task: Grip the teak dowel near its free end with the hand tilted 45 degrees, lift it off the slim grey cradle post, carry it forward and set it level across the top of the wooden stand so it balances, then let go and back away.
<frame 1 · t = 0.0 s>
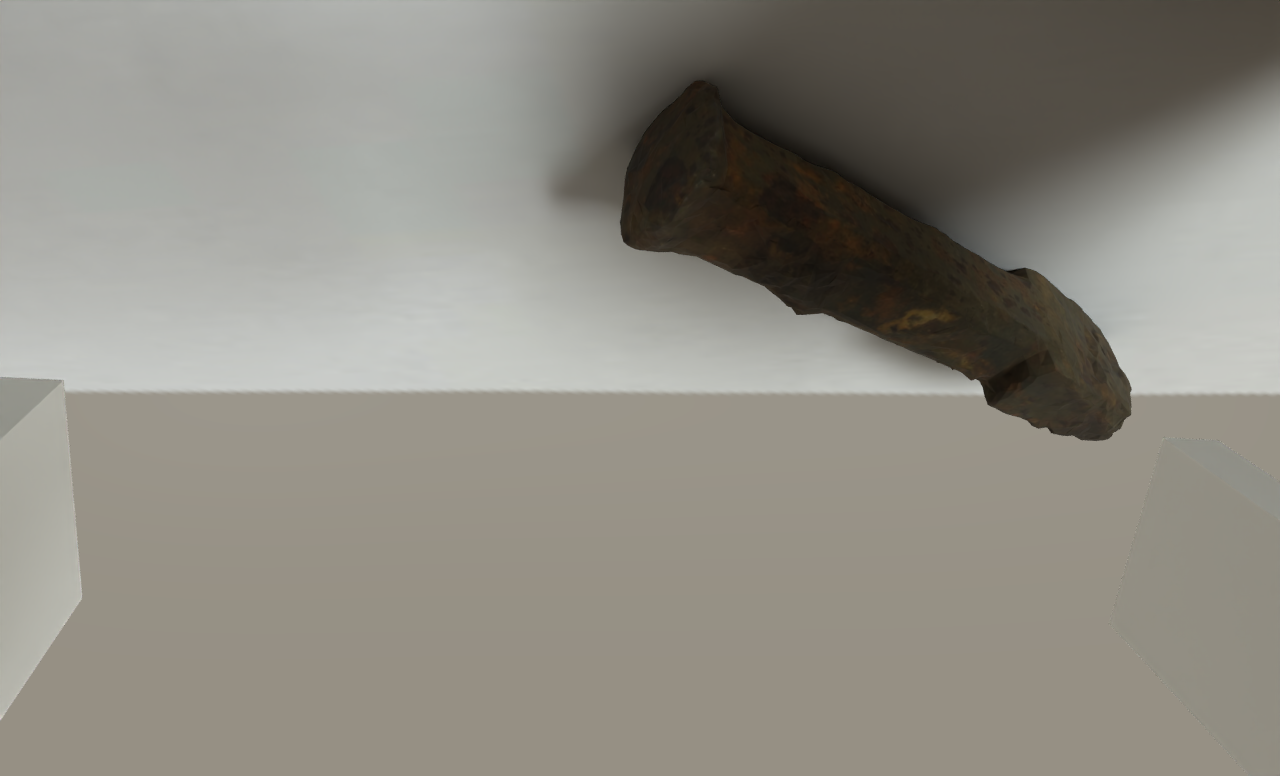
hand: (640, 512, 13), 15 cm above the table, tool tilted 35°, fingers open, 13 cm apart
hand tool: (919, 220, 33), on the table
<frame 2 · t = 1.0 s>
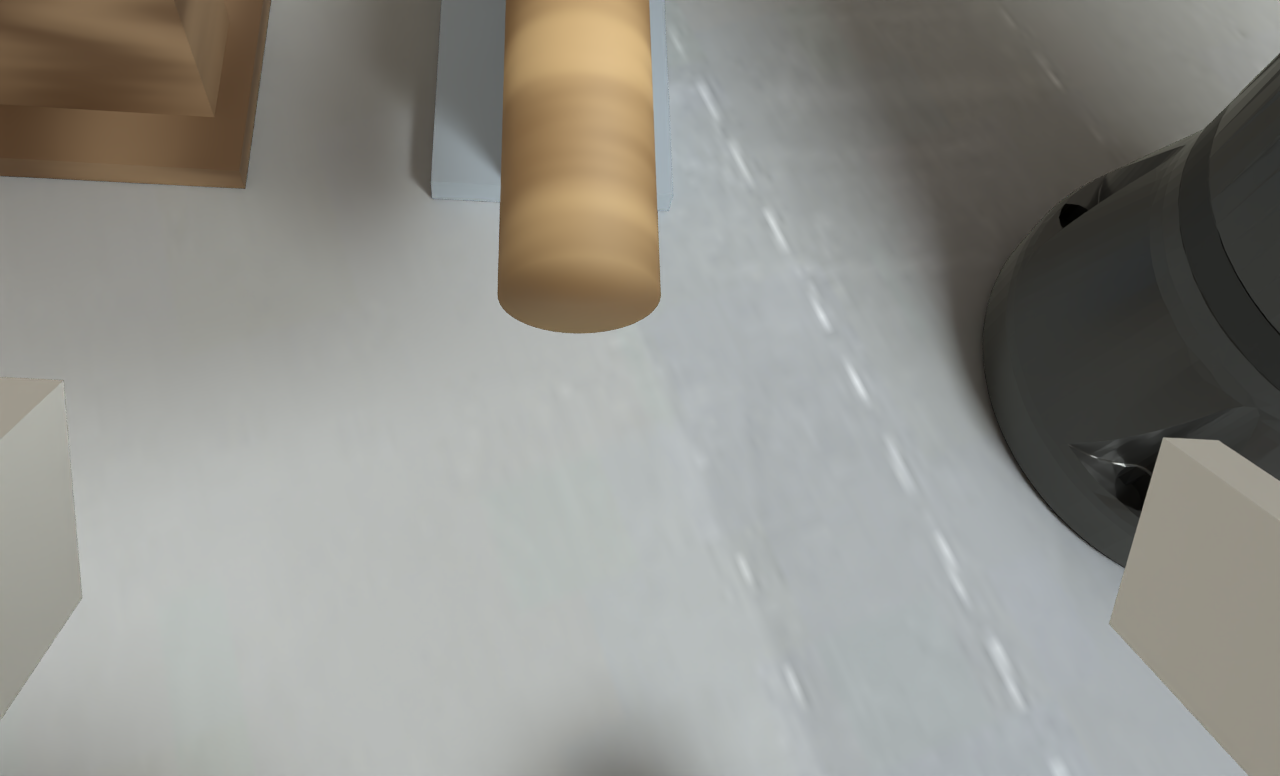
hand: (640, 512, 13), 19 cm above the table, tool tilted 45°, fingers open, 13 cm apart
cradle: (552, 74, 39), on the table
wooden stand: (72, 77, 37), on the table
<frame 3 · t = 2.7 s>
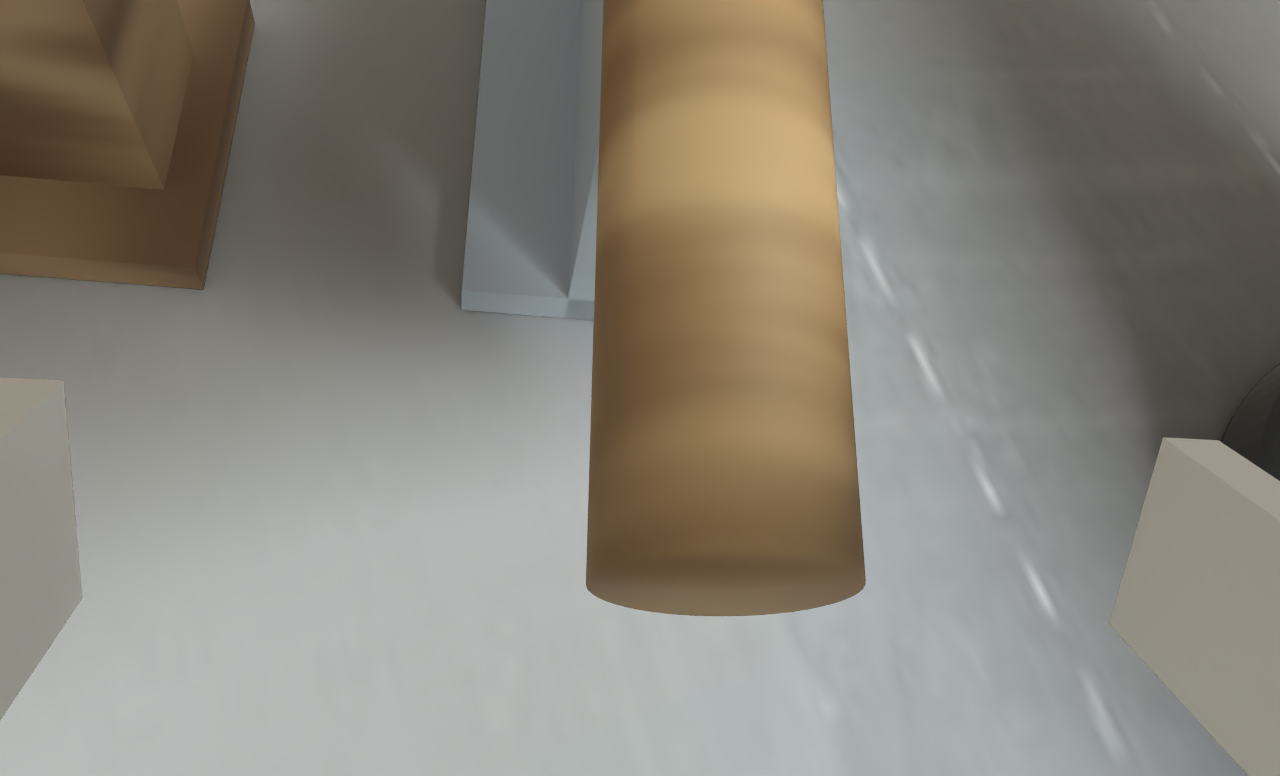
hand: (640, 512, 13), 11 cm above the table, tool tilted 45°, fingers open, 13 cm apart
rod: (690, 21, 20), point 8 cm above the table, touching cradle
cradle: (627, 139, 29), on the table
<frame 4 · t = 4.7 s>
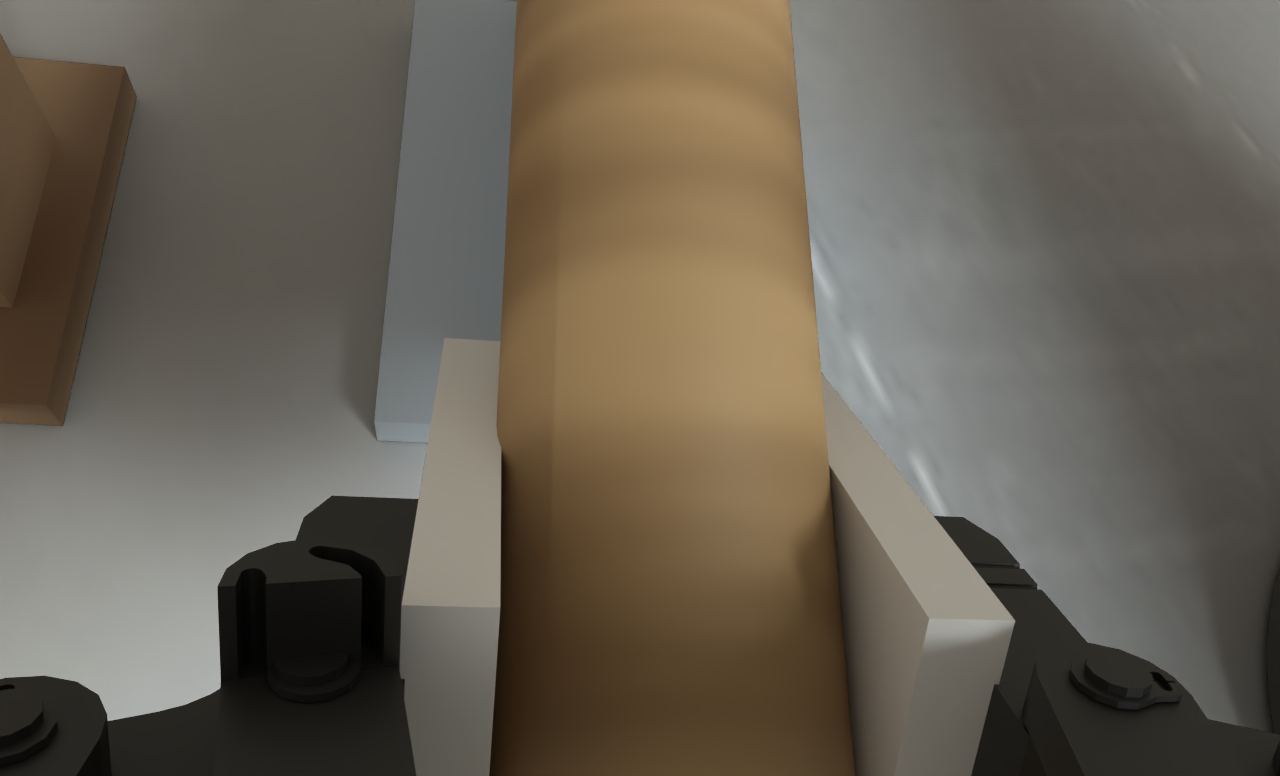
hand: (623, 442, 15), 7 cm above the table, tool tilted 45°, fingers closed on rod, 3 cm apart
rod: (633, 116, 16), point 8 cm above the table, touching gripper
cradle: (577, 224, 25), on the table
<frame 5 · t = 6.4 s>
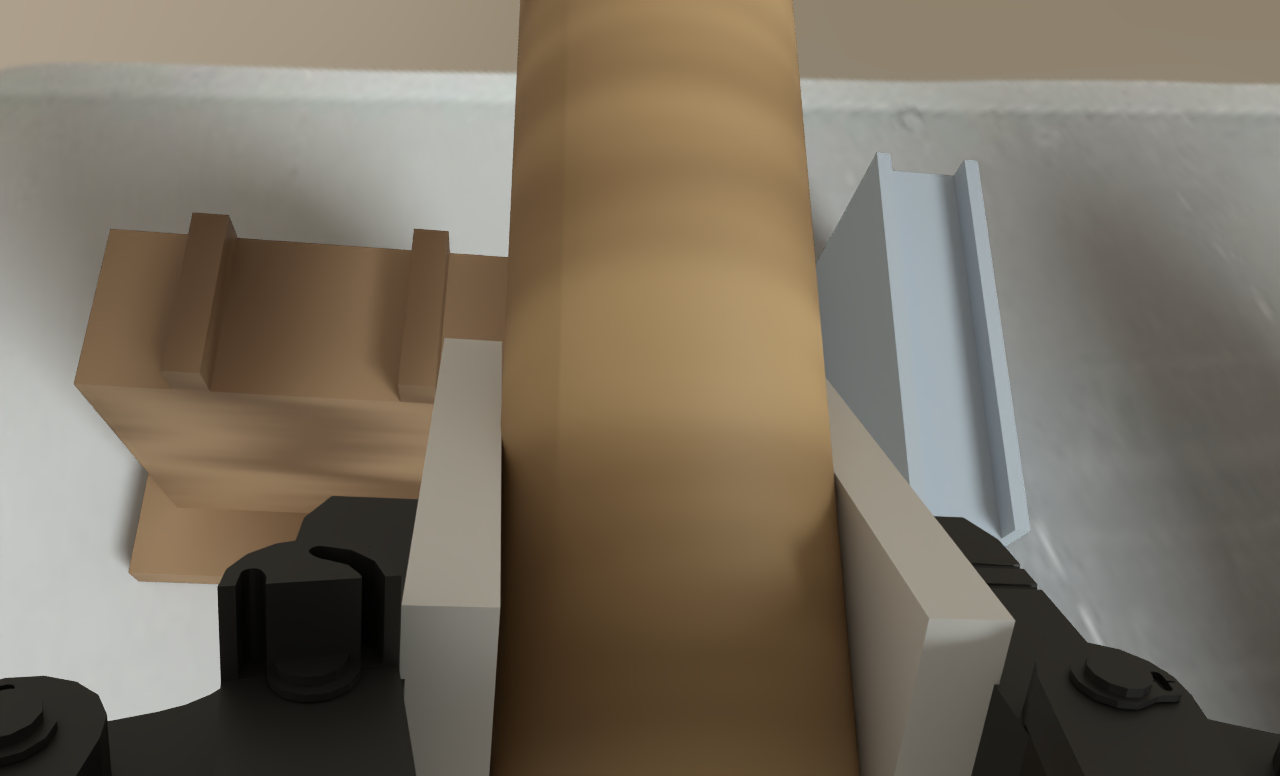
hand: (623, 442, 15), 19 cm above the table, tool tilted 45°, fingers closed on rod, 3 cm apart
rod: (636, 118, 16), point 21 cm above the table, touching gripper
cradle: (848, 445, 37), on the table
wooden stand: (361, 463, 35), on the table
when the fingers open (10 cm above the table, at t = 8.2 s): rod stays where it is, resting on wooden stand.
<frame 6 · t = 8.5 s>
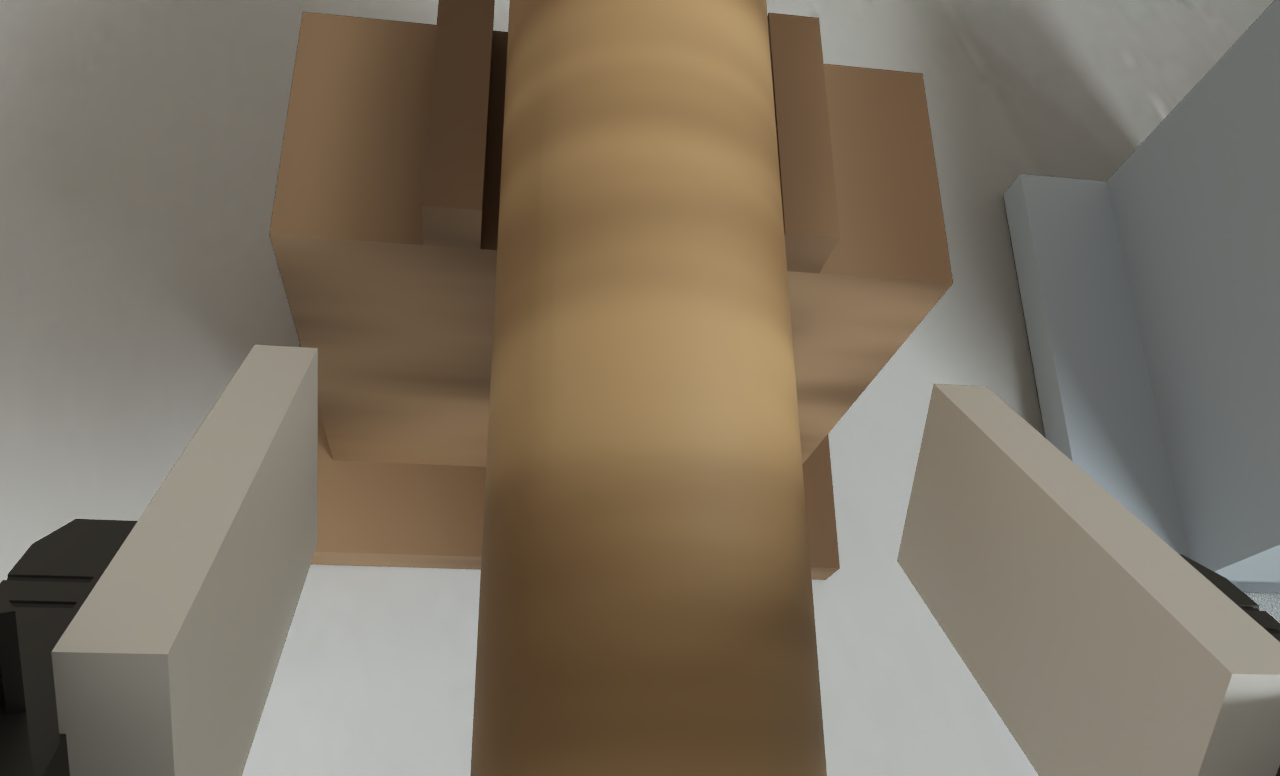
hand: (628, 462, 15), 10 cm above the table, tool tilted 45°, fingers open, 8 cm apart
rod: (627, 152, 17), point 10 cm above the table, touching wooden stand
cradle: (1178, 383, 29), on the table
wooden stand: (565, 404, 26), on the table
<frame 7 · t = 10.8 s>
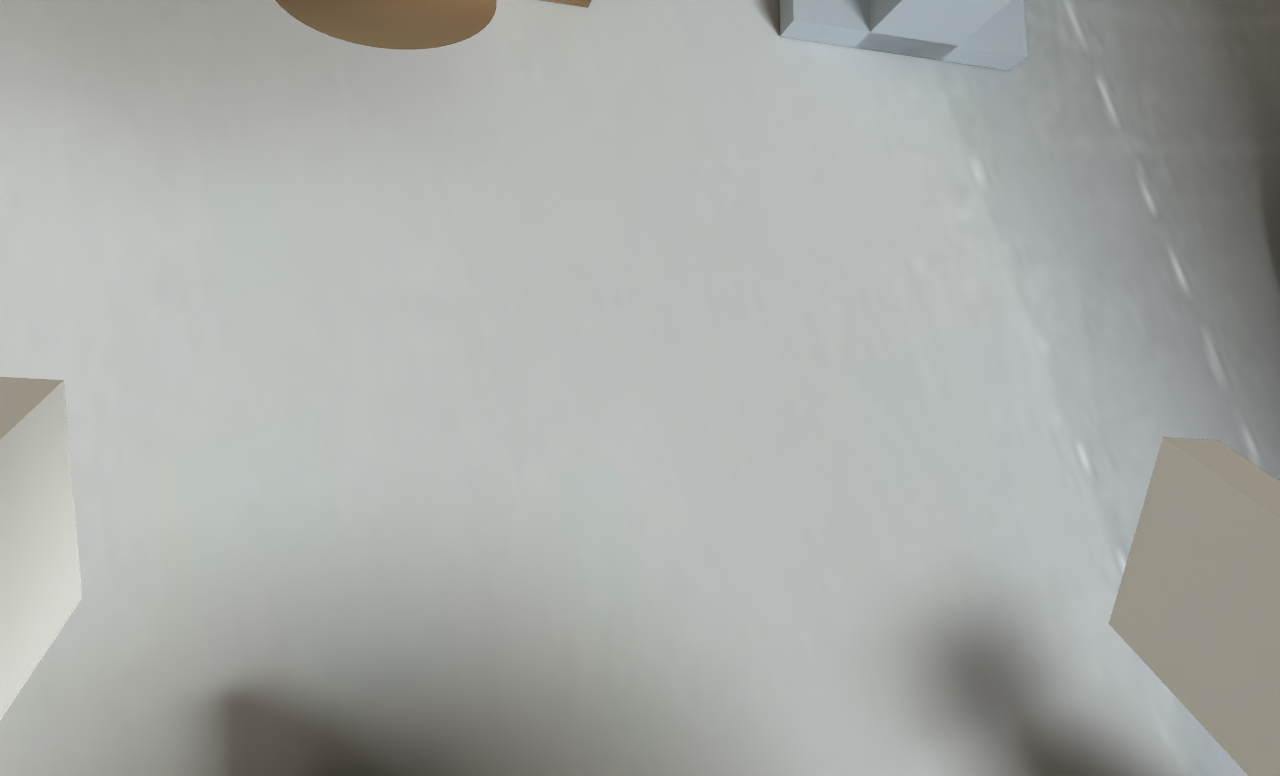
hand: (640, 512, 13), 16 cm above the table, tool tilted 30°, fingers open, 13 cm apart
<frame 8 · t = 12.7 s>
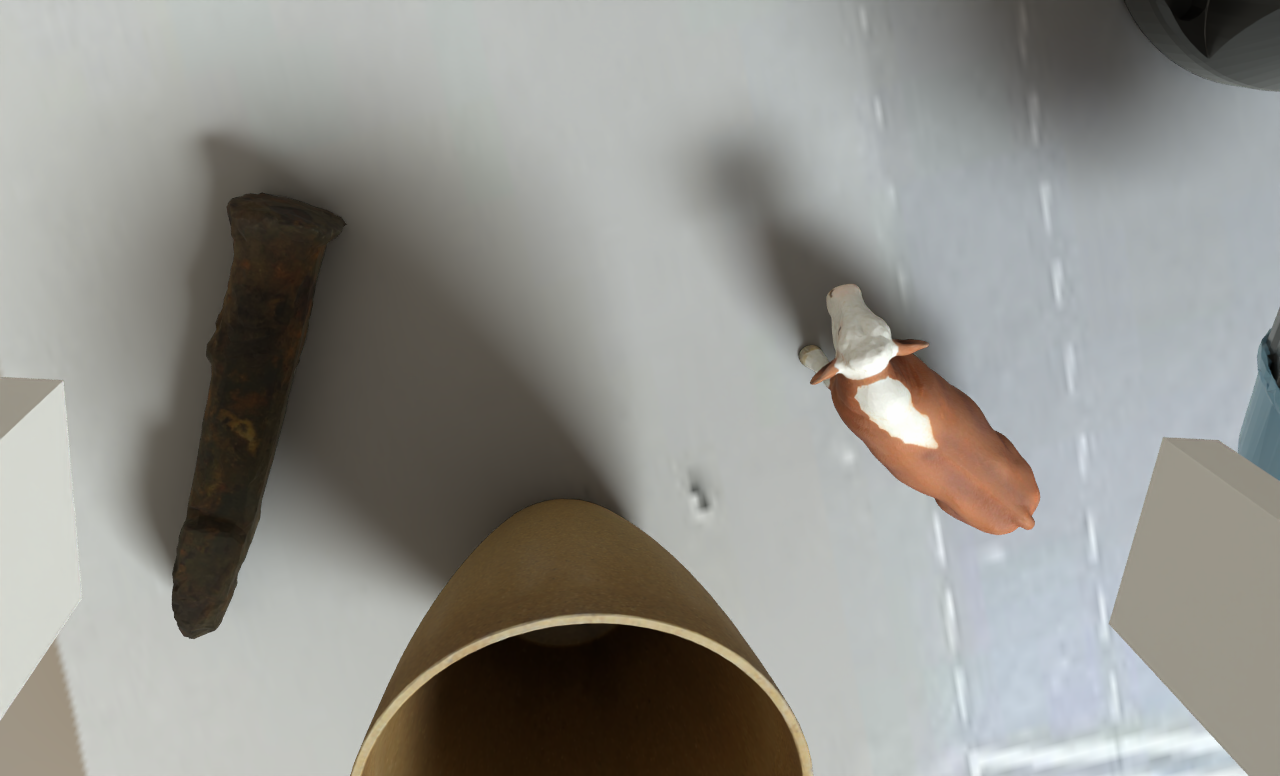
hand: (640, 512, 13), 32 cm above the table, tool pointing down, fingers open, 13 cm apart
plant pot: (560, 563, 50), on the table
bull figurine: (873, 372, 48), on the table
hand tool: (267, 411, 46), on the table
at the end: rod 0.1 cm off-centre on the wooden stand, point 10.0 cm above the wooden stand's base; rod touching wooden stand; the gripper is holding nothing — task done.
